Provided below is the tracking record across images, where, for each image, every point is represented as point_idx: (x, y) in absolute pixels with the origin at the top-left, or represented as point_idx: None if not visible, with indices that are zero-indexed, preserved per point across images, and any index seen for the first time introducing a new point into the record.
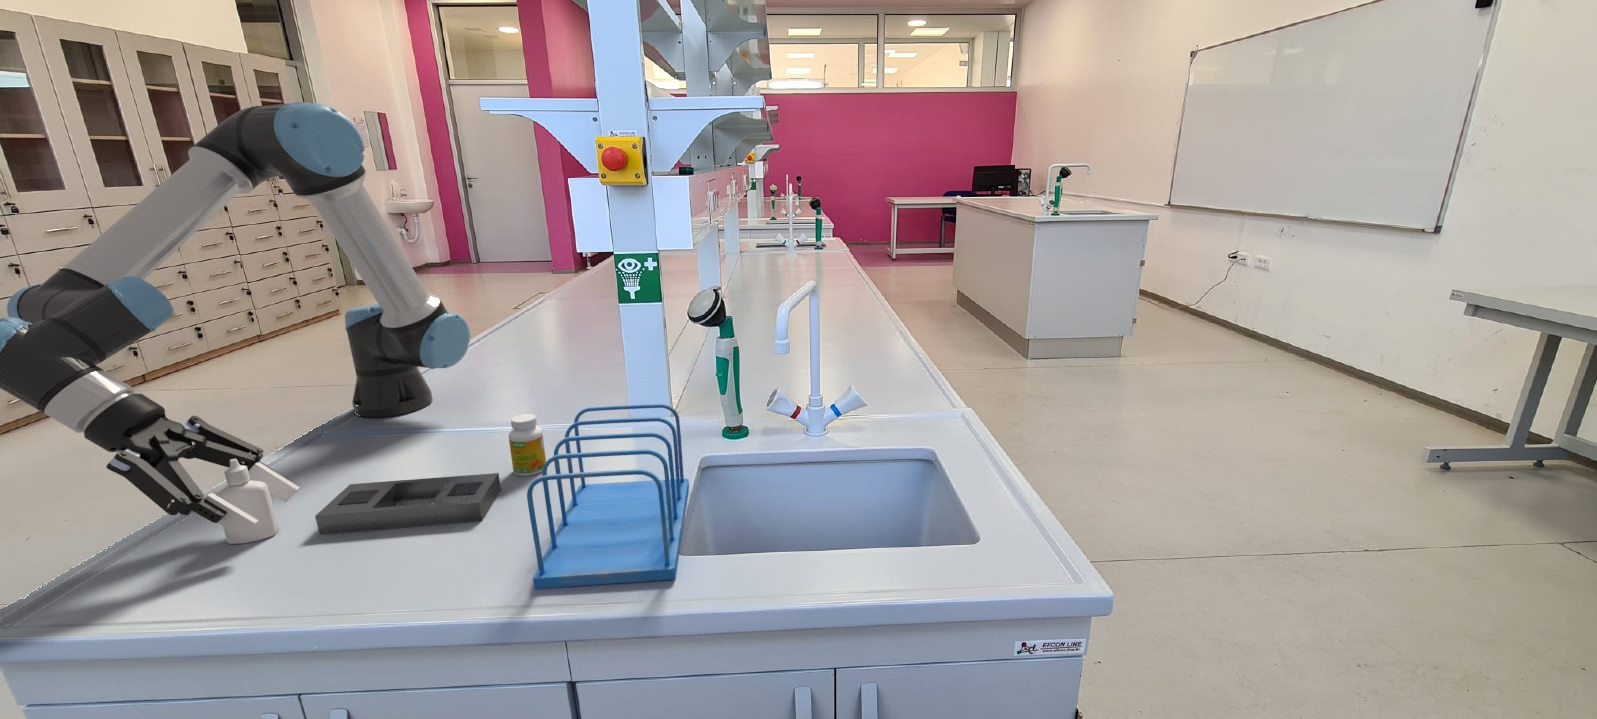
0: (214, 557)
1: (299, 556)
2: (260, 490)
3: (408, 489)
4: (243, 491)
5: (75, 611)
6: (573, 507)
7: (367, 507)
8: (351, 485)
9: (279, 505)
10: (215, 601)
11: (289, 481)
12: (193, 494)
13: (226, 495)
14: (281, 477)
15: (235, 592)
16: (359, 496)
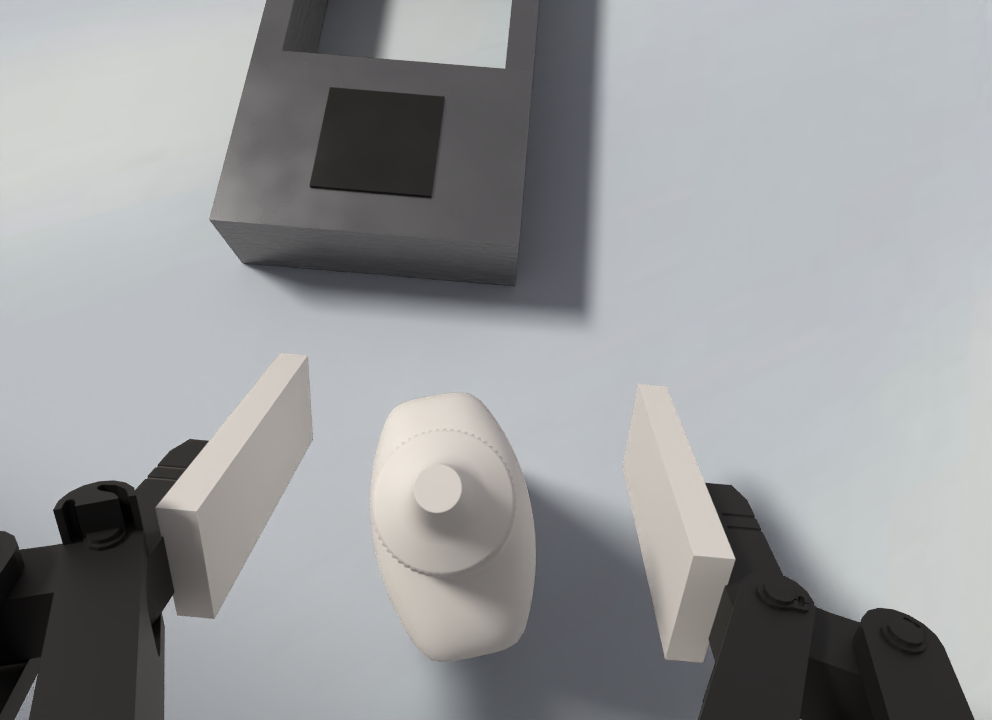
0: (611, 621)
1: (667, 292)
2: (480, 402)
3: (299, 40)
4: (516, 469)
5: None
6: None
7: (492, 85)
8: (228, 209)
9: None
10: (929, 436)
11: (260, 381)
12: (805, 620)
13: (533, 562)
14: (249, 405)
15: (879, 397)
16: (378, 137)
